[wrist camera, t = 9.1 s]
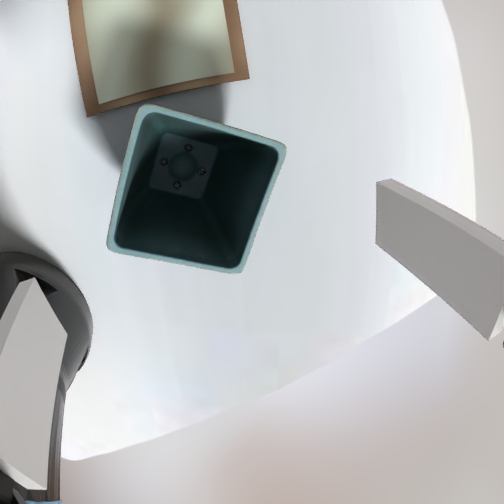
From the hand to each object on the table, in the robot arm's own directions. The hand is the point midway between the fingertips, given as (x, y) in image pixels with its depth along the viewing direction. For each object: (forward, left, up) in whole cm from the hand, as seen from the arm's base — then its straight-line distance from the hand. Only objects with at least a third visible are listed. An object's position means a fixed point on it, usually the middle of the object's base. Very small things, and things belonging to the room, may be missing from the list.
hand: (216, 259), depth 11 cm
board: (0, +23, -17) cm, 28 cm away
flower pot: (0, 0, -17) cm, 17 cm away
